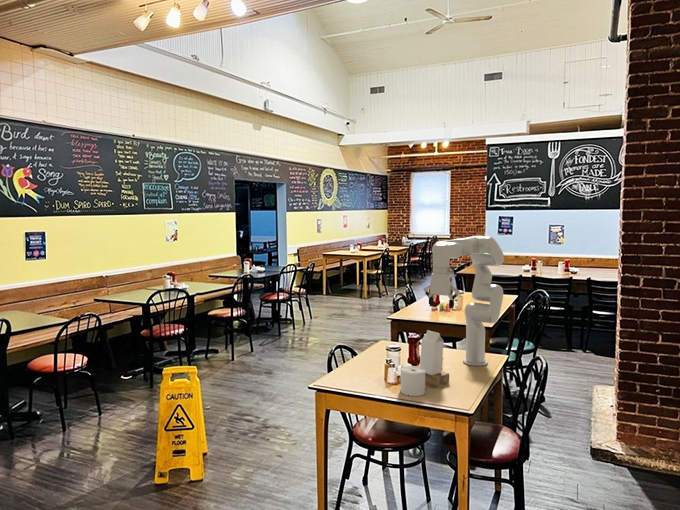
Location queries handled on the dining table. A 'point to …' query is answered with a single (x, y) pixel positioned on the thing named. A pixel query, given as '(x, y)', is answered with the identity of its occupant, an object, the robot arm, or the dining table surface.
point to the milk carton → (431, 353)
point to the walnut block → (437, 379)
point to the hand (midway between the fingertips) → (441, 307)
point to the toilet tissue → (412, 380)
